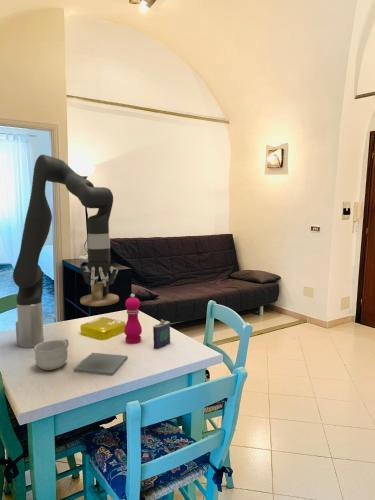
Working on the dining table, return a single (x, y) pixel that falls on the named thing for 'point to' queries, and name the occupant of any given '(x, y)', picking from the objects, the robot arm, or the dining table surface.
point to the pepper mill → (132, 321)
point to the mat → (101, 364)
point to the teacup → (51, 354)
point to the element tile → (102, 328)
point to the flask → (161, 334)
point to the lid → (98, 297)
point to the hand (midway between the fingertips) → (100, 295)
